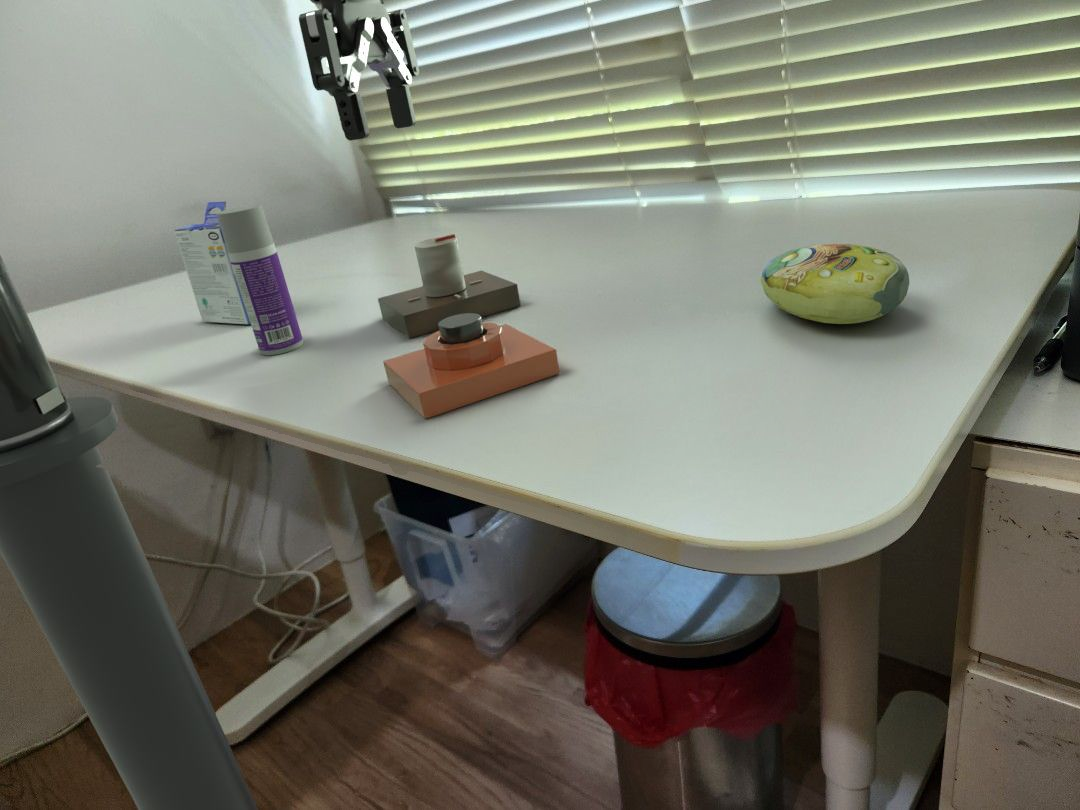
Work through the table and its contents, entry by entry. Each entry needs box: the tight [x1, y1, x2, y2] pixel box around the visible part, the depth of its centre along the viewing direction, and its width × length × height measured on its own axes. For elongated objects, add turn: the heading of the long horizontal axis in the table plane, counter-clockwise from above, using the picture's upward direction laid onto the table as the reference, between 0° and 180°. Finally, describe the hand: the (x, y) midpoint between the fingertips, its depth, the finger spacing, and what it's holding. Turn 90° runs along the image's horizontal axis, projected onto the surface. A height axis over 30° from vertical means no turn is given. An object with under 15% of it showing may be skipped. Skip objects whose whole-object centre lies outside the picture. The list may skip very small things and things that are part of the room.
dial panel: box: [377, 270, 521, 339], centre depth 83 cm, size 13×10×3 cm
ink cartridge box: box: [173, 200, 251, 325], centre depth 94 cm, size 10×6×14 cm, turn 58°
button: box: [438, 313, 484, 345], centre depth 62 cm, size 4×4×2 cm
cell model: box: [760, 243, 910, 325], centre depth 65 cm, size 11×8×15 cm
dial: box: [414, 233, 466, 297], centre depth 82 cm, size 5×5×6 cm
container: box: [216, 203, 304, 356], centre depth 79 cm, size 5×5×15 cm
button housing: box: [382, 321, 561, 420], centre depth 63 cm, size 12×10×4 cm
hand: (383, 132), depth 71 cm, fingers open, 8 cm apart
